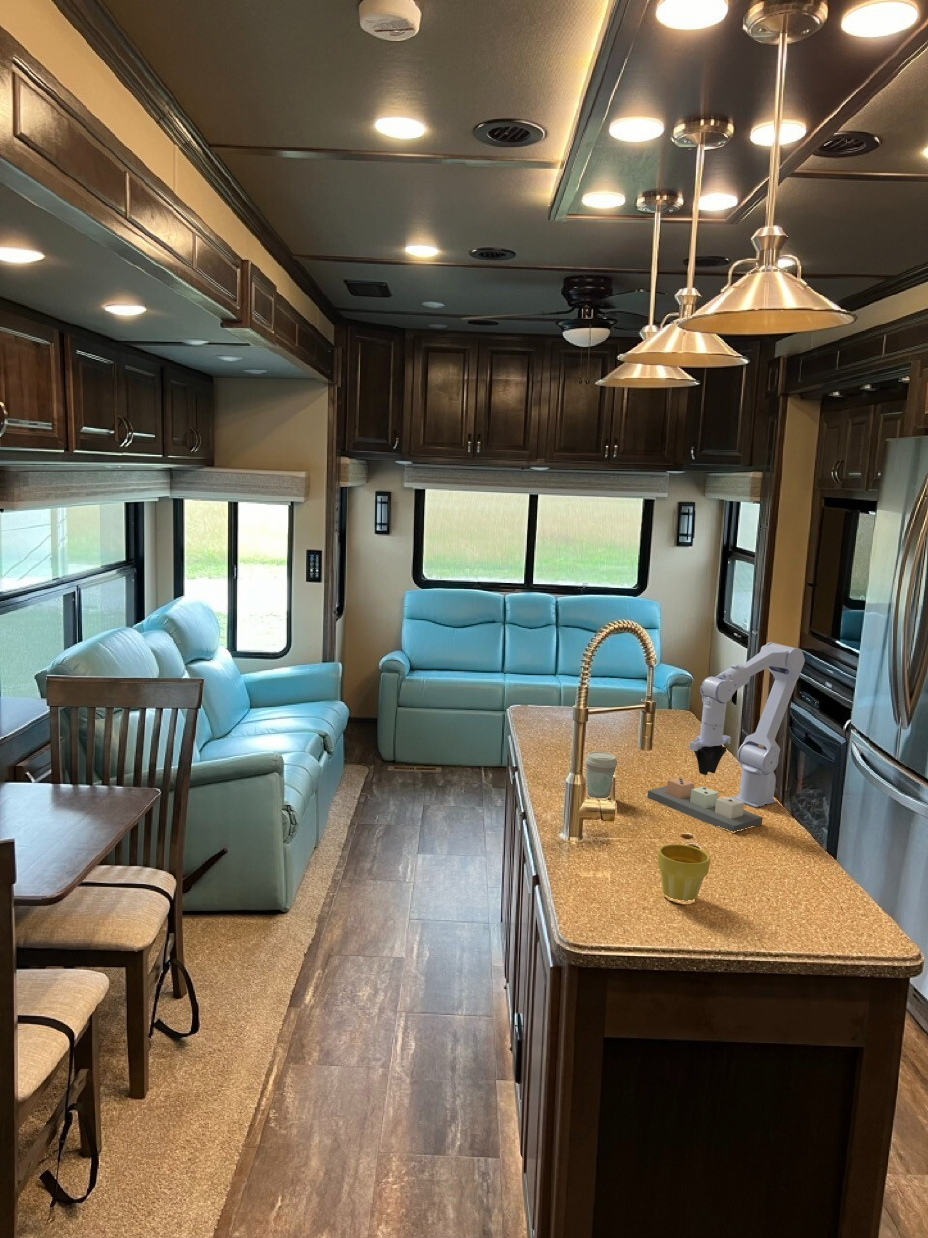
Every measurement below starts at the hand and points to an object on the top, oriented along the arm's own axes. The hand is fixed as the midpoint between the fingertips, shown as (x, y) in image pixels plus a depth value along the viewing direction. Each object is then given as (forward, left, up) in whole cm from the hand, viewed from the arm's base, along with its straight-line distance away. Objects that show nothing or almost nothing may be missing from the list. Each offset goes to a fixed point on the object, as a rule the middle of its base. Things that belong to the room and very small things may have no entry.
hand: (707, 773), depth 237 cm
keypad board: (0, 0, -10) cm, 10 cm away
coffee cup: (+19, -20, -11) cm, 30 cm away
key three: (0, -8, -9) cm, 12 cm away
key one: (0, +8, -9) cm, 12 cm away
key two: (0, 0, -9) cm, 9 cm away
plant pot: (+46, +30, -11) cm, 56 cm away
